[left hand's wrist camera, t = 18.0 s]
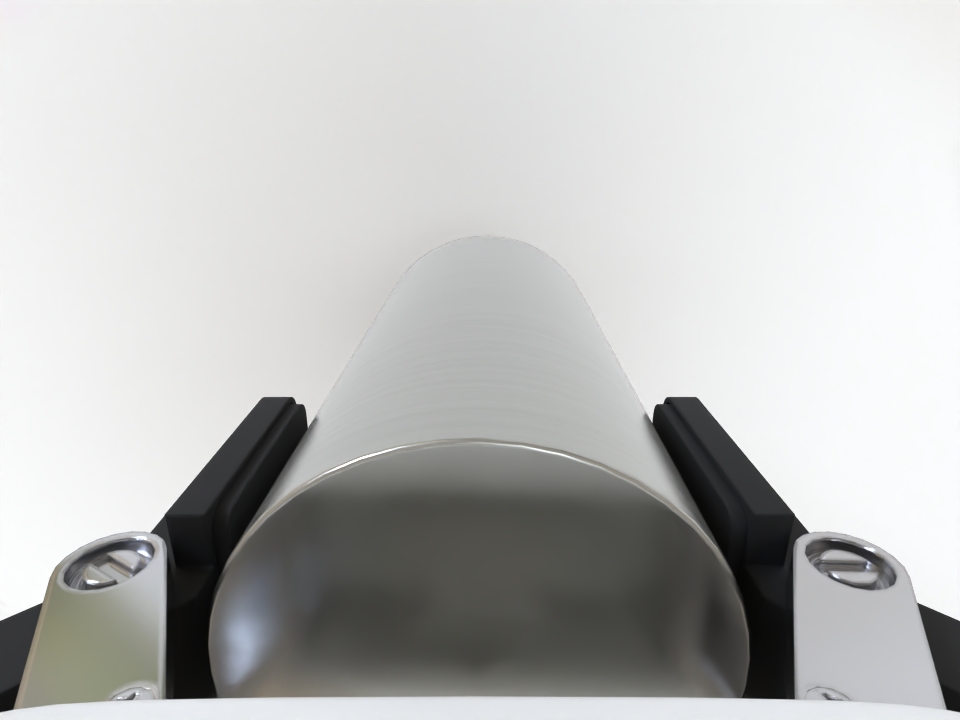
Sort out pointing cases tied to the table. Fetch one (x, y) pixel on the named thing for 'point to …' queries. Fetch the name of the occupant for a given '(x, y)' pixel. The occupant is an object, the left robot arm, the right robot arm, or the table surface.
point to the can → (480, 515)
